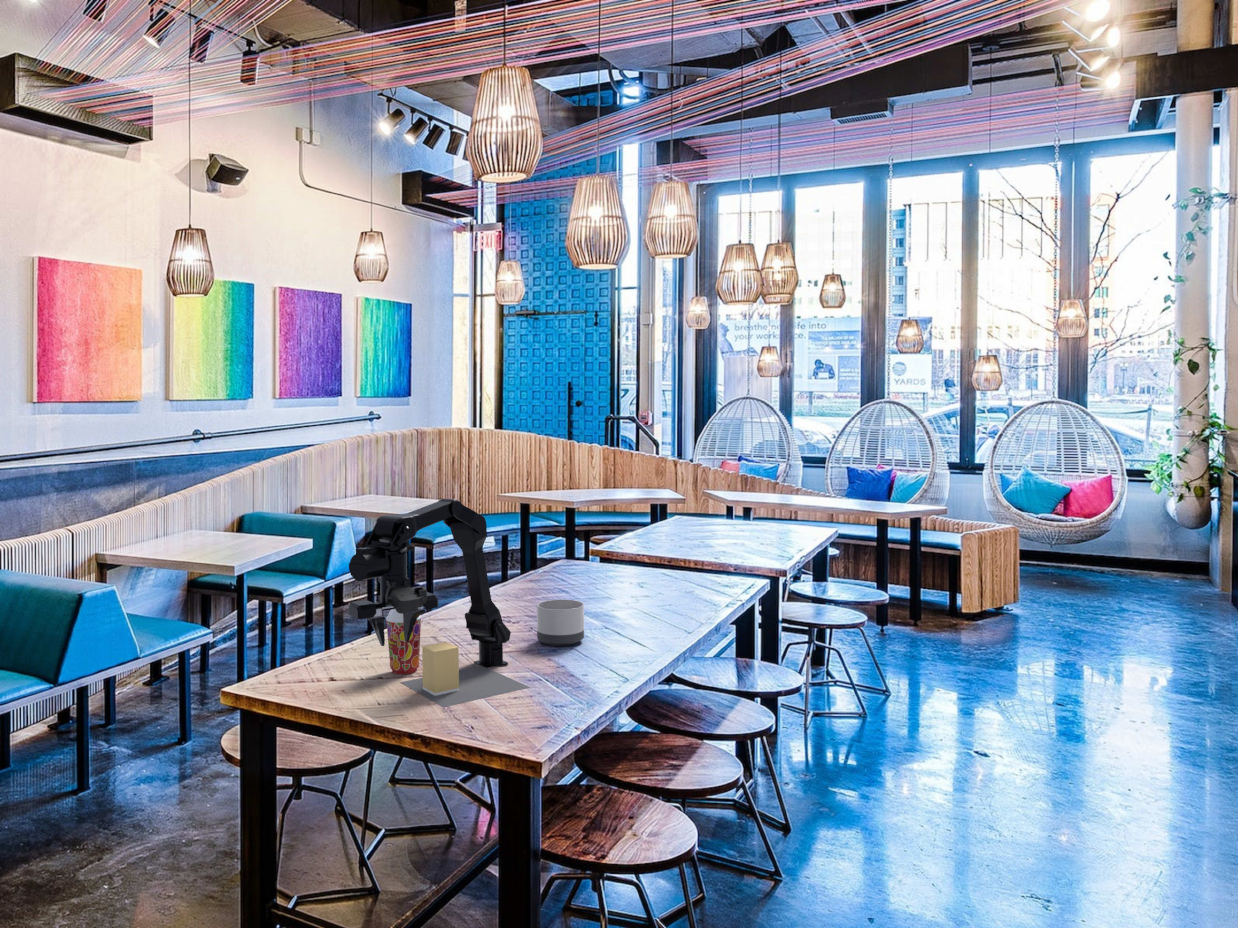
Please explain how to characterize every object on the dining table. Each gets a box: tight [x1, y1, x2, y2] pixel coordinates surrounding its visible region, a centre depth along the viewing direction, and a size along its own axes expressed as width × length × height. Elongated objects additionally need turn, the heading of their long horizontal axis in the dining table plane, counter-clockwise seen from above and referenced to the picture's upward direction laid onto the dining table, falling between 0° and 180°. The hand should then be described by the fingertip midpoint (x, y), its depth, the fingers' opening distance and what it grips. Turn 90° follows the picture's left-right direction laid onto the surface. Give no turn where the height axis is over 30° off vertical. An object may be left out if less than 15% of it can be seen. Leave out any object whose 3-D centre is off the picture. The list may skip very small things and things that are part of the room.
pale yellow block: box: [421, 641, 460, 696], centre depth 211 cm, size 6×6×10 cm
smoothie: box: [385, 609, 422, 675], centre depth 226 cm, size 8×8×20 cm
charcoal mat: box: [399, 665, 531, 708], centre depth 215 cm, size 22×22×1 cm
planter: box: [536, 599, 585, 647], centre depth 254 cm, size 13×13×10 cm
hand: (394, 643), depth 204 cm, fingers open, 5 cm apart
